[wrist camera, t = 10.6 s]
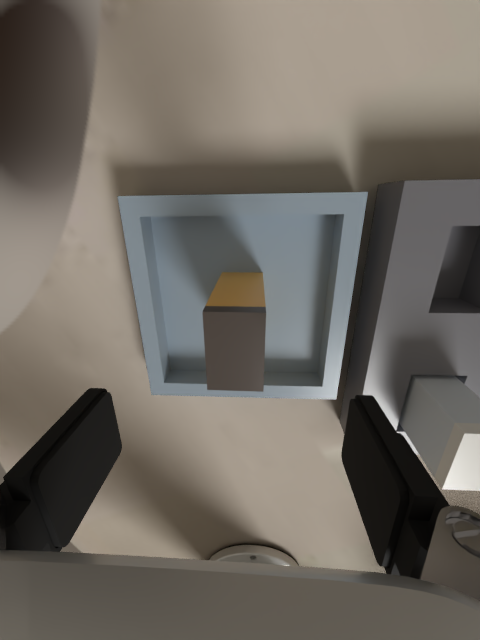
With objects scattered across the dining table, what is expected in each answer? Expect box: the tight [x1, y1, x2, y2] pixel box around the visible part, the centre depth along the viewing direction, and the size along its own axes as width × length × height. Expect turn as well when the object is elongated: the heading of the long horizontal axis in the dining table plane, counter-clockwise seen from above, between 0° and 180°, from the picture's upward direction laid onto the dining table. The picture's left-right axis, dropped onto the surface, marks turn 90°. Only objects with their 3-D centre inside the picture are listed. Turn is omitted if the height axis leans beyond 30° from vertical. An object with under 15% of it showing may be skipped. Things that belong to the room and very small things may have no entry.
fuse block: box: [340, 179, 480, 454], centre depth 20 cm, size 20×10×4 cm, turn 1°
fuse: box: [399, 375, 480, 491], centre depth 20 cm, size 4×3×8 cm, turn 1°
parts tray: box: [118, 192, 368, 400], centre depth 21 cm, size 15×15×2 cm
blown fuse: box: [202, 272, 266, 392], centre depth 17 cm, size 4×3×8 cm, turn 0°
